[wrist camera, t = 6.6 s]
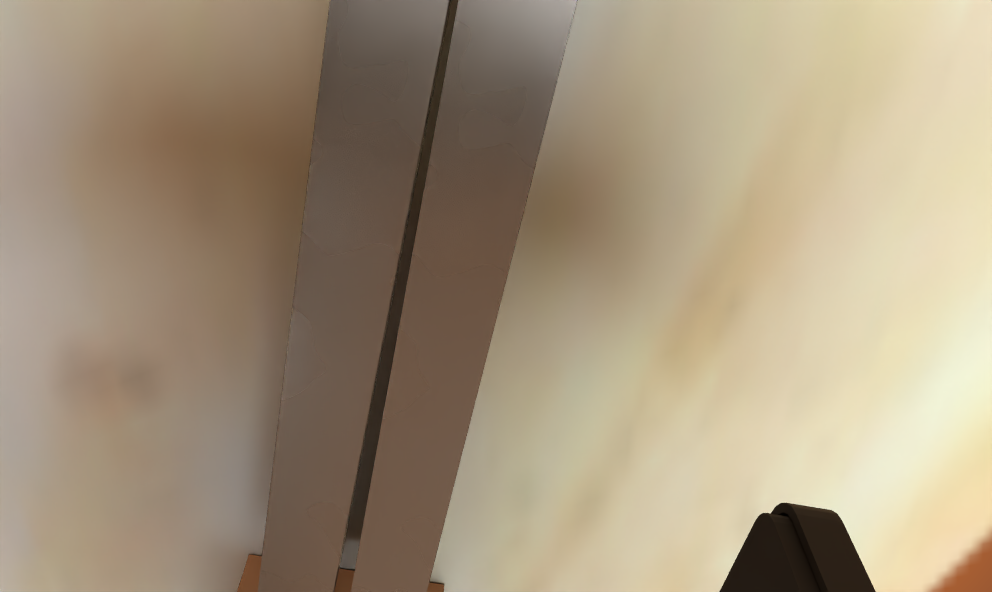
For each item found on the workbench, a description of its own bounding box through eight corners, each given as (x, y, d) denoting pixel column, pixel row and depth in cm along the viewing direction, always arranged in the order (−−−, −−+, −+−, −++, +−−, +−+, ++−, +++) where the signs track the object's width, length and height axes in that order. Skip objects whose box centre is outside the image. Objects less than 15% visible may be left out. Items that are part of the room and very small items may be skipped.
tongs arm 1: (412, 579, 21) (398, 703, 18) (355, 570, 21) (332, 694, 18) (684, -559, 10) (747, -663, 7) (567, -592, 10) (586, -711, 7)
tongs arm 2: (339, 568, 21) (313, 691, 18) (281, 558, 21) (246, 681, 18) (567, -592, 10) (588, -711, 7) (448, -629, 10) (423, -765, 7)
